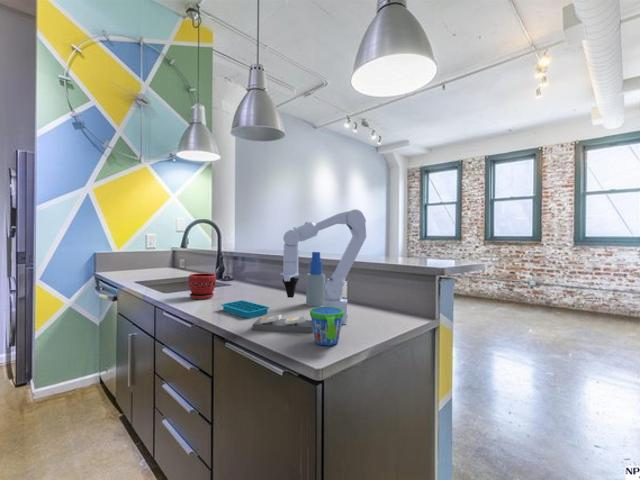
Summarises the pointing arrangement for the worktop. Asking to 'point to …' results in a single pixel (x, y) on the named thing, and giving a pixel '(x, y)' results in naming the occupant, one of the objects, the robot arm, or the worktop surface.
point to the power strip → (283, 326)
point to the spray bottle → (315, 282)
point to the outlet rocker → (270, 319)
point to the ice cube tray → (245, 308)
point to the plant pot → (202, 285)
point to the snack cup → (326, 324)
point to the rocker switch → (295, 320)
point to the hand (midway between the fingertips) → (290, 297)
